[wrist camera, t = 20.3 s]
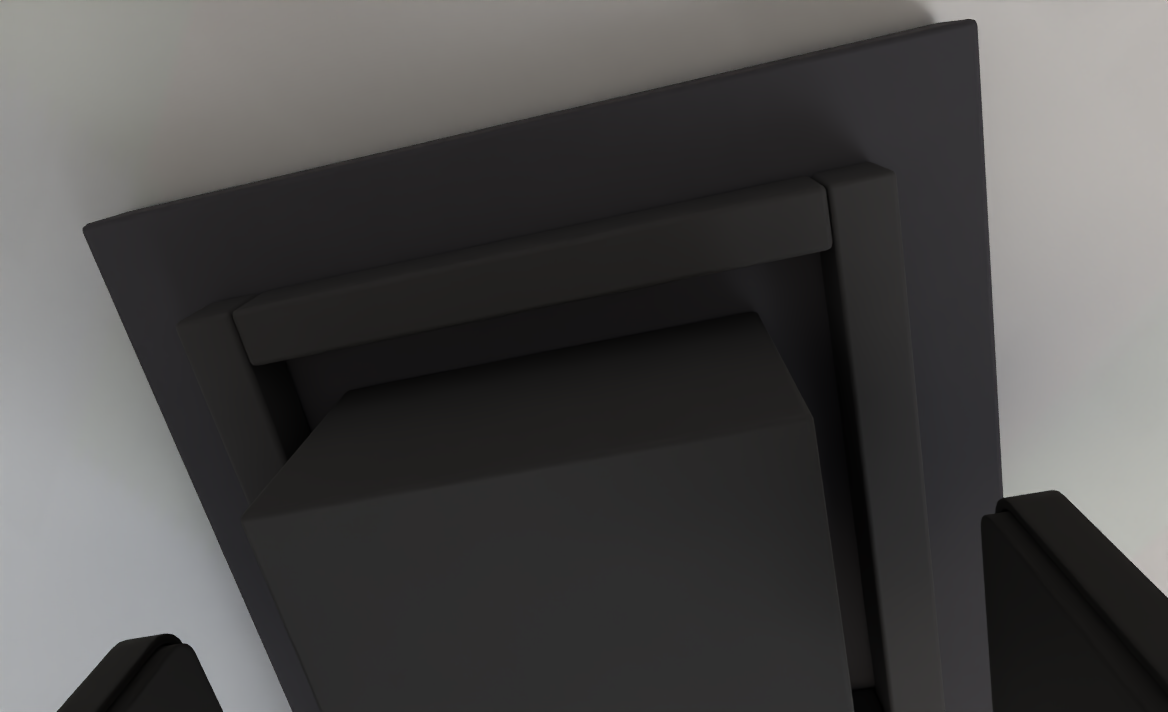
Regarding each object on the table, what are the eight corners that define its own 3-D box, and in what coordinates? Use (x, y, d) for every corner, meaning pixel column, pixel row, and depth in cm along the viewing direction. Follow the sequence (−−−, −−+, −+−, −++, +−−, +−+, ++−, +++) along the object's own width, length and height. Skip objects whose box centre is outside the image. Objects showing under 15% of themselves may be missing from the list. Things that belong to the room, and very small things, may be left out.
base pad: (370, 796, 16) (332, 905, 14) (127, 211, 12) (26, 242, 10) (989, 715, 15) (1050, 823, 13) (942, 21, 11) (1018, 12, 9)
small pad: (457, 708, 14) (402, 914, 10) (345, 389, 12) (234, 517, 8) (812, 657, 13) (877, 862, 10) (757, 308, 11) (814, 414, 8)
